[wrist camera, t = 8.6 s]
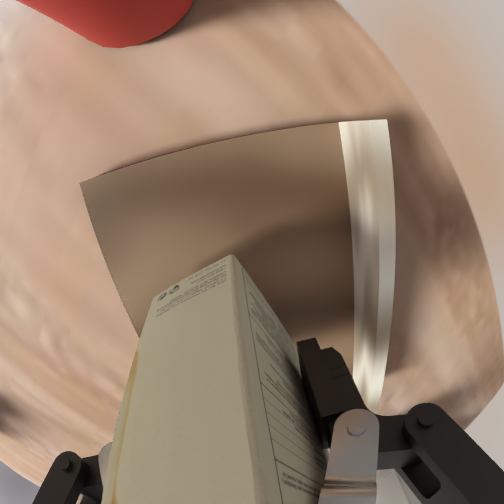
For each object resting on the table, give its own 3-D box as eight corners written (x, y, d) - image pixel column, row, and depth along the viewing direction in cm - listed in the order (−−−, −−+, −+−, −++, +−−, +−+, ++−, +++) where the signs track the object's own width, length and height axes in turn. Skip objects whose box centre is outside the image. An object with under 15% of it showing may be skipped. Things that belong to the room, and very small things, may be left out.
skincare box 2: (431, 439, 30) (457, 489, 20) (404, 462, 32) (425, 510, 23) (386, 446, 28) (412, 509, 18) (357, 470, 30) (377, 527, 20)
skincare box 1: (150, 295, 12) (72, 593, 1) (234, 248, 12) (279, 641, 1) (226, 381, 15) (242, 604, 3) (299, 349, 14) (371, 585, 3)
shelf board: (355, 387, 21) (375, 432, 17) (199, 419, 21) (197, 468, 17) (343, 121, 14) (393, 119, 9) (96, 176, 14) (46, 197, 9)
